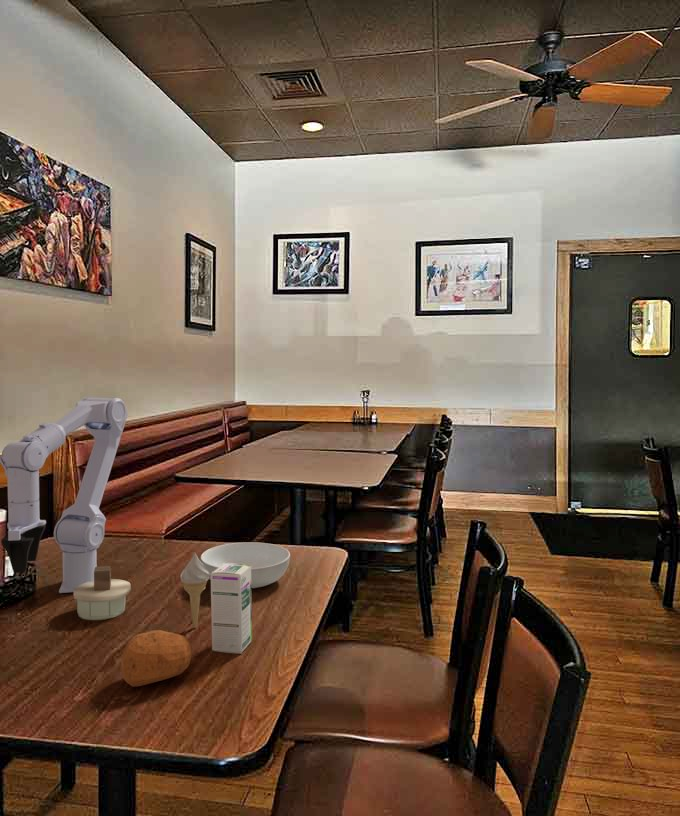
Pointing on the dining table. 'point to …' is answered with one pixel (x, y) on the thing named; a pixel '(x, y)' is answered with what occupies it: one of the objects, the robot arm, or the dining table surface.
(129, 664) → the potato
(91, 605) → the bowl
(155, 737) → the dining table surface
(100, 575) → the lid
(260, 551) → the serving bowl
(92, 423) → the robot arm
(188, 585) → the ice cream cone
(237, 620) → the syrup box
